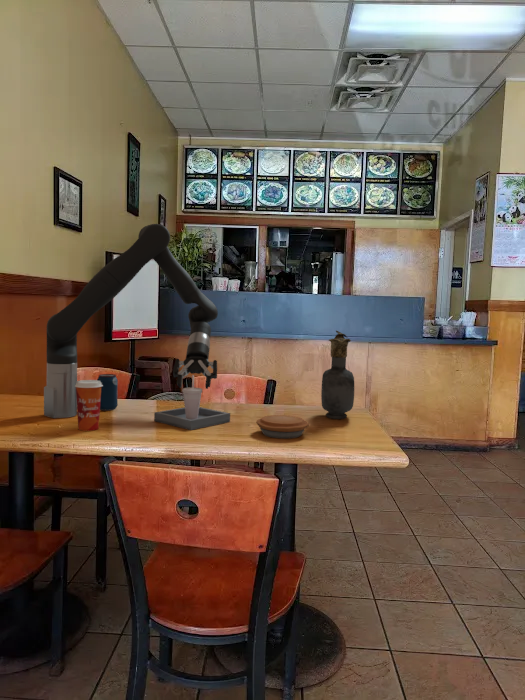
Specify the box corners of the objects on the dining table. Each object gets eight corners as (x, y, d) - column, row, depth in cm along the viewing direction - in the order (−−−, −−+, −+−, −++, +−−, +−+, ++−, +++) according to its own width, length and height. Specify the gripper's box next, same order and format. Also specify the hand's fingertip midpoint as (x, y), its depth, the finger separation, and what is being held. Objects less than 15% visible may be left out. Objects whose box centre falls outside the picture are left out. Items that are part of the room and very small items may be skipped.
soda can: (121, 408, 184) (121, 374, 183) (106, 411, 178) (106, 376, 178) (107, 406, 188) (108, 373, 187) (92, 409, 182) (92, 374, 181)
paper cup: (76, 432, 148) (76, 383, 147) (72, 426, 155) (73, 380, 154) (105, 430, 152) (105, 382, 150) (100, 425, 158) (100, 379, 157)
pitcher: (321, 420, 174) (325, 331, 172) (319, 410, 193) (322, 329, 191) (354, 422, 174) (358, 332, 171) (348, 411, 193) (352, 330, 190)
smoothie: (203, 417, 170) (204, 374, 169) (199, 421, 164) (200, 377, 163) (184, 416, 171) (185, 373, 170) (179, 420, 164) (180, 376, 163)
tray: (190, 430, 155) (191, 420, 155) (154, 421, 166) (154, 412, 166) (229, 421, 168) (230, 413, 168) (193, 413, 179) (193, 405, 179)
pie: (272, 426, 165) (272, 410, 165) (316, 433, 157) (317, 416, 157) (245, 435, 152) (246, 418, 151) (293, 443, 144) (293, 425, 143)
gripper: (176, 340, 175) (169, 378, 164) (218, 341, 175) (215, 380, 164) (178, 354, 180) (172, 393, 170) (219, 356, 181) (216, 394, 170)
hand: (193, 386), depth 167 cm, fingers open, 8 cm apart
